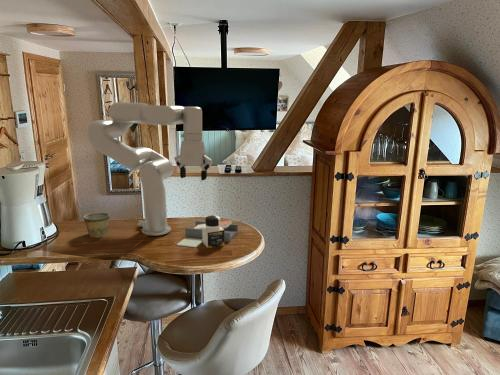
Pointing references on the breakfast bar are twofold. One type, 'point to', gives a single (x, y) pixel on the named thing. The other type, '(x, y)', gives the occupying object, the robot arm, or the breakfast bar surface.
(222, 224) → the rocker
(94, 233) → the ceramic cup
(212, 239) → the medicine bottle
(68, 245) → the breakfast bar surface
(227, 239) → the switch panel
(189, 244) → the sage mat
